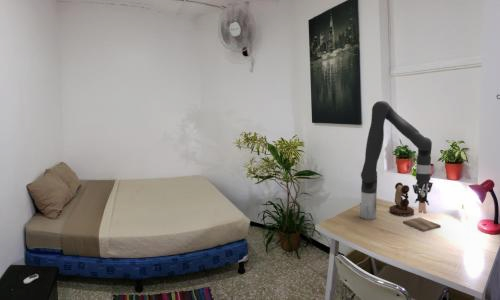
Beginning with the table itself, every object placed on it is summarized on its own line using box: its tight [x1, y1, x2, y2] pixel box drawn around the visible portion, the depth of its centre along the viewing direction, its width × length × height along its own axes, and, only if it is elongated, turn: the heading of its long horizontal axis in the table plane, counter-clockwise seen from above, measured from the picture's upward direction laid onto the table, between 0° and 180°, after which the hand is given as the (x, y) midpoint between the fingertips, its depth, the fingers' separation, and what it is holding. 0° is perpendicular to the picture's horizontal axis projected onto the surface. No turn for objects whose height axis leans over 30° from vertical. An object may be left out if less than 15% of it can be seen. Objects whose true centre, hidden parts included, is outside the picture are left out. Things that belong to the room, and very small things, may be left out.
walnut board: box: [402, 216, 441, 233], centre depth 178 cm, size 14×14×1 cm
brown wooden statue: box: [388, 182, 415, 217], centre depth 197 cm, size 15×15×20 cm
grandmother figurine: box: [414, 191, 430, 215], centre depth 176 cm, size 8×4×13 cm, turn 58°
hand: (422, 199), depth 176 cm, fingers closed on grandmother figurine, 3 cm apart
